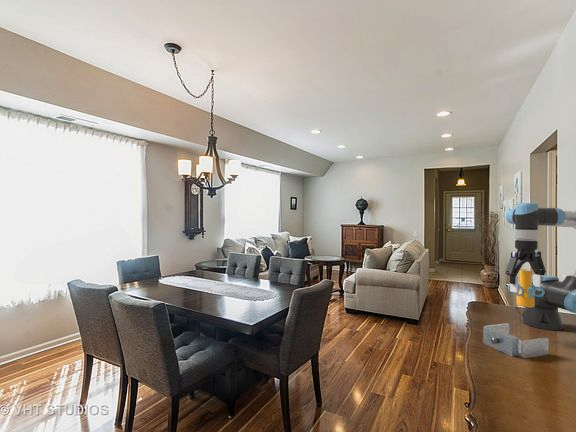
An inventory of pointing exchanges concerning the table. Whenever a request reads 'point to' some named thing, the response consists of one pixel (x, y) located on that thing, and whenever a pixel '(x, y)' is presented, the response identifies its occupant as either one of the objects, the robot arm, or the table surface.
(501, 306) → the table surface
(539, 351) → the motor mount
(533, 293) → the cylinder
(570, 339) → the table surface
